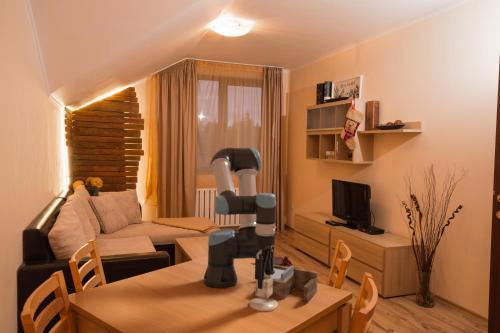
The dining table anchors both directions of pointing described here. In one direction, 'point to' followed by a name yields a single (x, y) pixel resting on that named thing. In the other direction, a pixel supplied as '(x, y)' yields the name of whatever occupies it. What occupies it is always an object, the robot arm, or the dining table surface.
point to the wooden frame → (296, 284)
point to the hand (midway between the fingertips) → (263, 293)
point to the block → (266, 287)
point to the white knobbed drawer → (282, 274)
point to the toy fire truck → (282, 261)
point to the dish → (263, 304)
